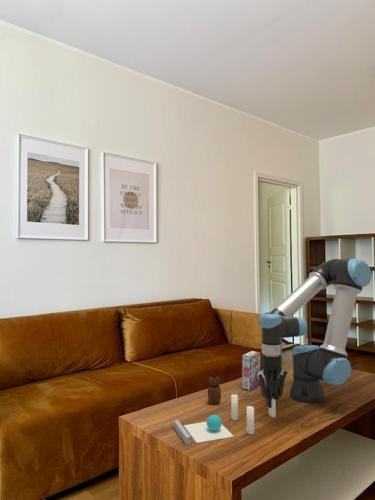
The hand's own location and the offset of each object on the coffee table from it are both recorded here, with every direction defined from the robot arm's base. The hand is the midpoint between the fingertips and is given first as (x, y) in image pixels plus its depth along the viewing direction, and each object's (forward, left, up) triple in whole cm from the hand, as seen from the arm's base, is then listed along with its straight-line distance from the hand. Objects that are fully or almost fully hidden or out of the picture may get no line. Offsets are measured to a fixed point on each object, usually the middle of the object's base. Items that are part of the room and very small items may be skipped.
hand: (272, 415), depth 145 cm
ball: (+25, 0, +1) cm, 25 cm away
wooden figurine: (+14, -24, -2) cm, 28 cm away
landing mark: (+27, 0, -2) cm, 27 cm away
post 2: (+13, +6, -2) cm, 15 cm away
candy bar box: (-11, -36, -2) cm, 38 cm away
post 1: (+13, -6, -2) cm, 15 cm away
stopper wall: (+37, 0, -2) cm, 37 cm away
